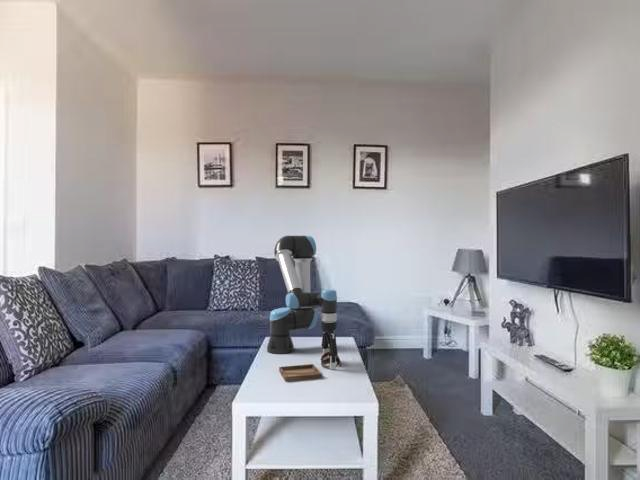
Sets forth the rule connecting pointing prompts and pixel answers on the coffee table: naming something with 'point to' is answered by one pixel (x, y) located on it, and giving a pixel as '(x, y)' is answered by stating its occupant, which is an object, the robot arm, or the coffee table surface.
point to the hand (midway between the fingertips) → (329, 365)
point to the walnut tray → (300, 372)
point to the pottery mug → (327, 361)
